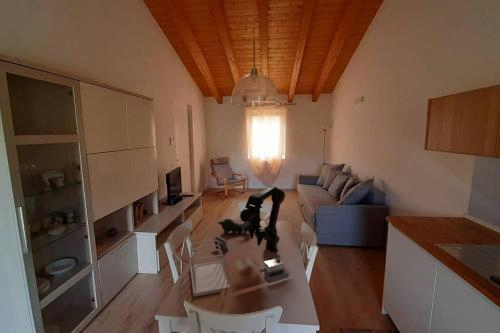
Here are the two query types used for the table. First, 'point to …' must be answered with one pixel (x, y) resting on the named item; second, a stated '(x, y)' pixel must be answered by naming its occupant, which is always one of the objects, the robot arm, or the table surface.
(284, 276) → the cabinet frame
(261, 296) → the table surface
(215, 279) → the file sorter
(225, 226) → the toy figurine
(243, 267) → the stand
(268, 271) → the grey drawer
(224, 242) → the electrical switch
